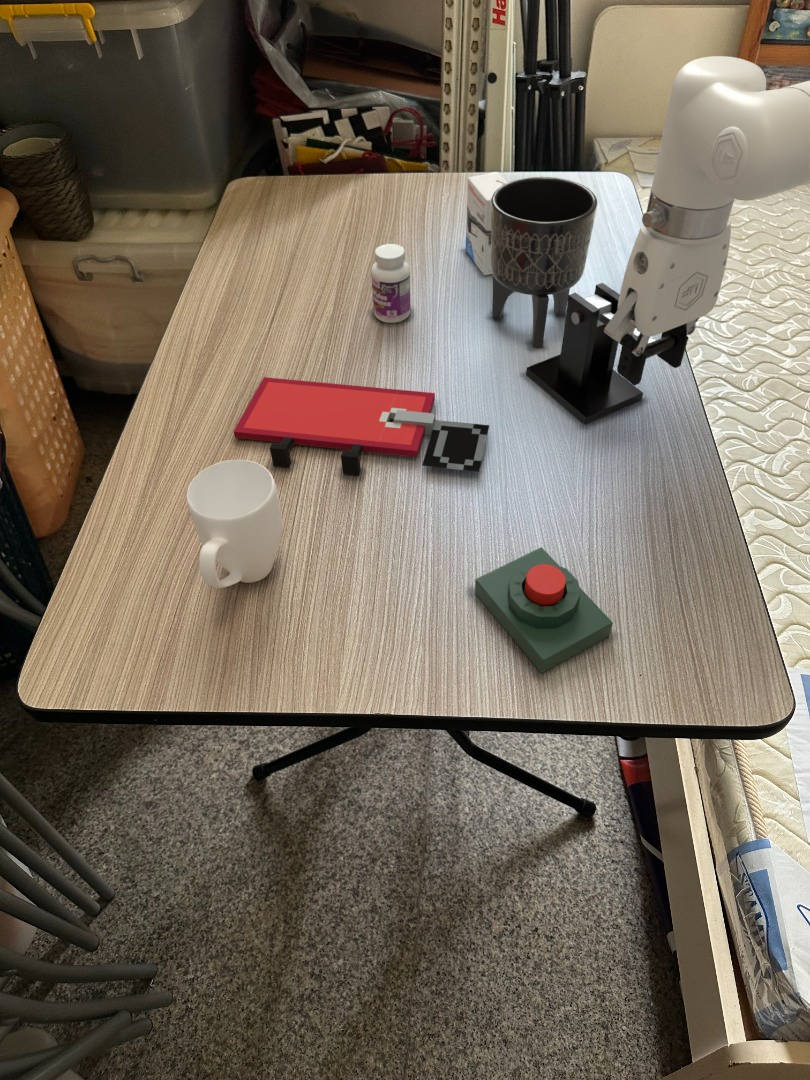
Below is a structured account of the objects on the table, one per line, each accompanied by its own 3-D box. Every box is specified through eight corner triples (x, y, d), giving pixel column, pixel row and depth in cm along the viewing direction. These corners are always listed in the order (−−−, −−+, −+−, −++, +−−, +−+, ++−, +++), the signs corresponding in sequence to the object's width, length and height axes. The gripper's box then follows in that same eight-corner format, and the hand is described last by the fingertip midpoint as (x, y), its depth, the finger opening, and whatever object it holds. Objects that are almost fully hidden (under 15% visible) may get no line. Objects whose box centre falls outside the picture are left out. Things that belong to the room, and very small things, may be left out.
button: (571, 595, 73) (573, 583, 72) (540, 611, 72) (542, 600, 70) (547, 570, 75) (549, 558, 74) (517, 585, 74) (518, 573, 72)
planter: (538, 290, 115) (551, 167, 102) (597, 331, 108) (620, 203, 95) (466, 318, 111) (470, 193, 98) (523, 362, 103) (536, 234, 90)
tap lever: (675, 352, 86) (679, 333, 84) (640, 367, 85) (644, 347, 83) (603, 309, 94) (605, 290, 92) (569, 321, 92) (571, 303, 91)
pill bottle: (366, 318, 112) (362, 255, 104) (384, 300, 115) (381, 237, 108) (400, 327, 110) (397, 264, 103) (417, 309, 113) (416, 245, 106)
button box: (609, 636, 74) (616, 610, 71) (541, 673, 72) (545, 649, 69) (539, 560, 81) (543, 534, 78) (474, 592, 78) (475, 567, 75)
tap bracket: (641, 400, 97) (663, 309, 88) (584, 425, 95) (600, 333, 85) (580, 353, 105) (594, 264, 95) (525, 374, 102) (534, 285, 92)
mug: (228, 532, 85) (204, 453, 76) (301, 542, 83) (286, 463, 75) (185, 621, 77) (153, 544, 68) (265, 634, 75) (243, 557, 67)
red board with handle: (476, 489, 87) (494, 407, 97) (477, 470, 85) (495, 389, 95) (224, 460, 92) (265, 386, 102) (219, 442, 90) (262, 368, 100)
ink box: (463, 250, 124) (465, 175, 115) (493, 245, 125) (497, 169, 116) (483, 276, 118) (487, 199, 110) (513, 270, 119) (520, 193, 110)
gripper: (645, 252, 69) (610, 414, 83) (783, 203, 74) (729, 362, 88) (591, 218, 73) (566, 377, 87) (725, 174, 79) (681, 330, 92)
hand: (648, 368), depth 87 cm, fingers closed on tap lever, 5 cm apart
